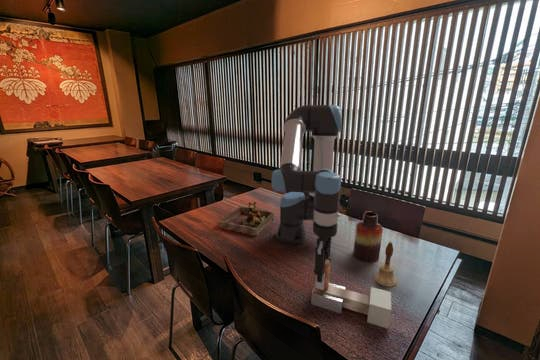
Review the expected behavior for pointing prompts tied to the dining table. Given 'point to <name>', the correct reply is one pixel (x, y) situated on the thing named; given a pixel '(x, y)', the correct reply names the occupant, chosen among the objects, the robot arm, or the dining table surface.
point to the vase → (368, 238)
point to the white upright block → (379, 308)
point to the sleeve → (327, 300)
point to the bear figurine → (253, 217)
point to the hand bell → (386, 270)
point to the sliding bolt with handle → (344, 294)
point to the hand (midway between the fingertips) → (321, 282)
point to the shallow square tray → (249, 230)
